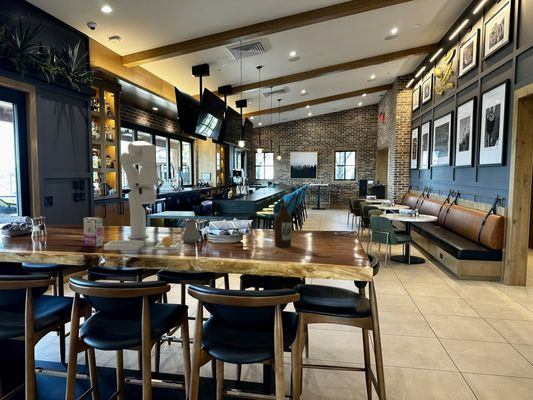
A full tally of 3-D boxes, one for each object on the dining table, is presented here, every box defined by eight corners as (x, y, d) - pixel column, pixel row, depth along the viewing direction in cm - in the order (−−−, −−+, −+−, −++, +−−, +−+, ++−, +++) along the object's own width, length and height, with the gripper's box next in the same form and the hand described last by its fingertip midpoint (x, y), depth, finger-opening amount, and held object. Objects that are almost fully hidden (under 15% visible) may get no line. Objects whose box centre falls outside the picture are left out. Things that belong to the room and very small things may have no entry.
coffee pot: (197, 243, 209) (197, 219, 208) (179, 243, 210) (178, 218, 209) (206, 237, 230) (206, 215, 229) (189, 237, 231) (189, 214, 230)
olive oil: (270, 245, 205) (270, 203, 203) (284, 243, 211) (285, 202, 209) (280, 248, 196) (281, 204, 194) (295, 246, 202) (295, 204, 200)
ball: (163, 245, 201) (163, 235, 201) (173, 245, 202) (173, 235, 201) (160, 247, 195) (160, 237, 195) (171, 247, 196) (171, 237, 195)
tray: (157, 245, 205) (157, 242, 204) (181, 244, 206) (181, 242, 205) (151, 249, 192) (151, 247, 192) (177, 249, 193) (177, 247, 193)
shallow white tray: (112, 245, 202) (112, 240, 202) (143, 245, 204) (143, 240, 203) (104, 250, 190) (104, 244, 190) (137, 249, 192) (137, 244, 191)
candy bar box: (103, 245, 202) (103, 218, 201) (96, 247, 198) (95, 219, 197) (91, 243, 207) (90, 216, 206) (83, 245, 203) (82, 217, 202)
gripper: (131, 165, 198) (132, 195, 200) (162, 166, 199) (162, 195, 201) (135, 165, 205) (135, 193, 207) (165, 165, 207) (165, 194, 209)
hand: (149, 194), depth 204 cm, fingers open, 9 cm apart
